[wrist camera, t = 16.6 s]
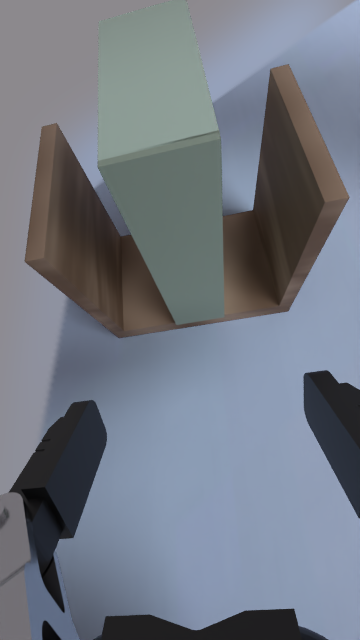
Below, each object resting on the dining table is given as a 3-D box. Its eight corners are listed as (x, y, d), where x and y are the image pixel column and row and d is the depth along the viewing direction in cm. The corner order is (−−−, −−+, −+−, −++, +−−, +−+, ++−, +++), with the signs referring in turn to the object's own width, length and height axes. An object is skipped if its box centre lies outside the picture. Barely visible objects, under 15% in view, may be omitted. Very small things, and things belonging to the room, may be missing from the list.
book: (207, 224, 26) (184, -7, 12) (224, 317, 22) (220, 138, 8) (166, 232, 26) (98, 18, 12) (176, 325, 23) (97, 167, 9)
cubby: (262, 219, 27) (288, 64, 15) (288, 311, 23) (349, 197, 12) (116, 247, 28) (41, 127, 17) (118, 338, 25) (24, 261, 13)
